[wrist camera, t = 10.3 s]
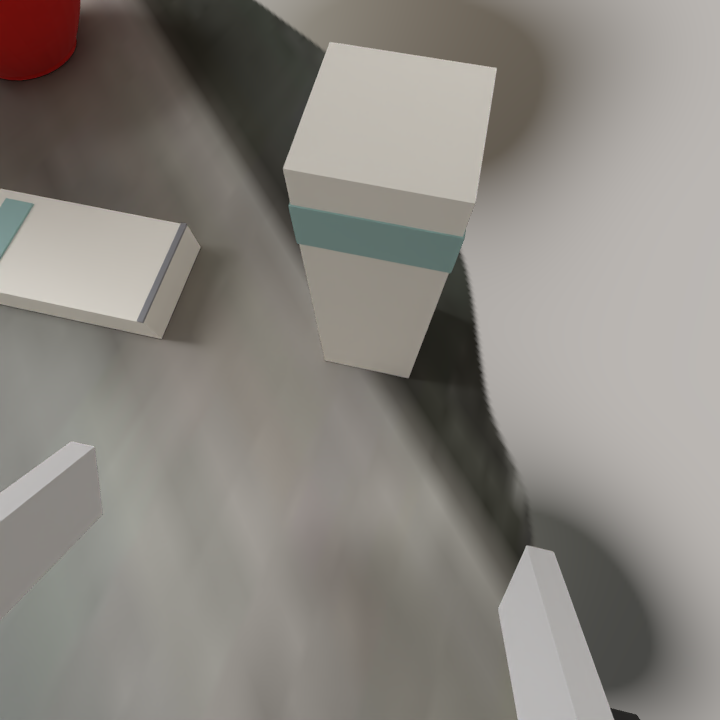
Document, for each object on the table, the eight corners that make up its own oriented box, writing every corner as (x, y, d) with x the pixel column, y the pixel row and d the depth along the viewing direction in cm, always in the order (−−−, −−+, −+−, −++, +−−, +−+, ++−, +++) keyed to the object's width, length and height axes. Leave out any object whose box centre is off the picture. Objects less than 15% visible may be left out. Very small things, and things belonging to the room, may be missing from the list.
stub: (323, 361, 22) (279, 169, 10) (343, 286, 23) (328, 40, 11) (409, 379, 21) (477, 205, 9) (424, 302, 23) (498, 67, 11)
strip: (-42, 295, 23) (-79, 274, 21) (13, 210, 25) (-17, 183, 23) (161, 339, 22) (142, 322, 20) (200, 247, 24) (186, 223, 22)
